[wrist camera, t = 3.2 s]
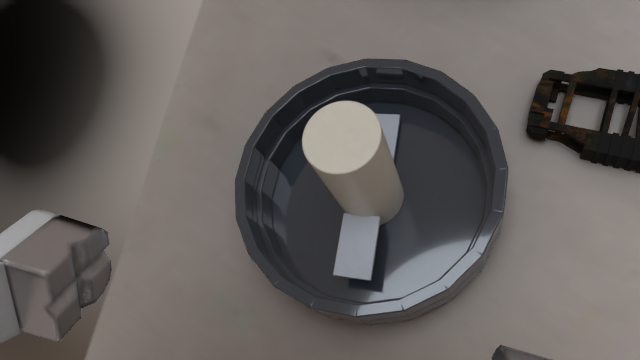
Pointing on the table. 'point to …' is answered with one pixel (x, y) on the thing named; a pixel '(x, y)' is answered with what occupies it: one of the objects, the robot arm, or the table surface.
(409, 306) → the dark grey round dish
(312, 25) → the table surface
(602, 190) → the table surface
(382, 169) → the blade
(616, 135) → the knife
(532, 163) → the table surface
